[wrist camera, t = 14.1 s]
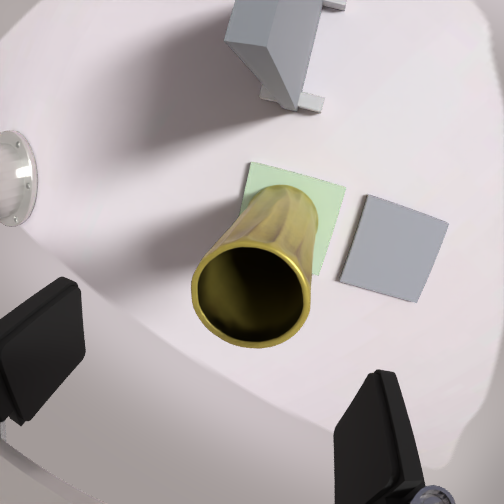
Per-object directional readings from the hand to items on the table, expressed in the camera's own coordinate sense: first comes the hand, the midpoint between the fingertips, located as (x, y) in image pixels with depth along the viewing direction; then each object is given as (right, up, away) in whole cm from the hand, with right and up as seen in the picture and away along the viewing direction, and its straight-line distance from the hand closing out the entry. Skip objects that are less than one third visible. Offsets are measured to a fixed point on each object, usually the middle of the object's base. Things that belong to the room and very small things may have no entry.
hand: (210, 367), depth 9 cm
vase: (+4, +6, +18) cm, 19 cm away
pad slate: (+14, +4, +17) cm, 22 cm away
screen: (+6, +20, +13) cm, 25 cm away
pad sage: (+4, +6, +18) cm, 19 cm away
